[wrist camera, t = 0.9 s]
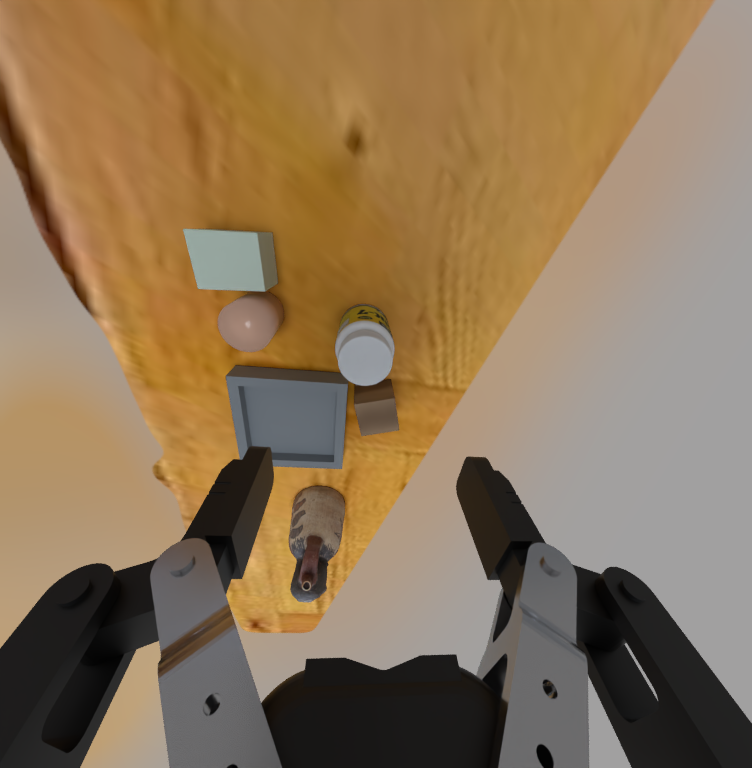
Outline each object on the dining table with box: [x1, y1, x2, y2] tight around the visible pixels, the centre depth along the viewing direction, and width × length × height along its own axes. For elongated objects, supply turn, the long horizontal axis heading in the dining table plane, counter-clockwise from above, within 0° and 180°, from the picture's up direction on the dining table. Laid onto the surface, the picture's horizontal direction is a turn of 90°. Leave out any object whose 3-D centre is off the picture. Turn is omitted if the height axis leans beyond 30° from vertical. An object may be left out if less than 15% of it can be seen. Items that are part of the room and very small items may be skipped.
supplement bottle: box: [335, 304, 394, 386], centre depth 24 cm, size 5×5×8 cm
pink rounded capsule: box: [218, 291, 284, 352], centre depth 24 cm, size 4×4×5 cm
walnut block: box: [354, 379, 399, 436], centre depth 30 cm, size 4×4×4 cm
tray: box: [226, 365, 348, 469], centre depth 31 cm, size 12×12×2 cm
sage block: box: [183, 229, 278, 292], centre depth 22 cm, size 4×5×4 cm
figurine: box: [289, 486, 345, 602], centre depth 34 cm, size 7×7×12 cm
